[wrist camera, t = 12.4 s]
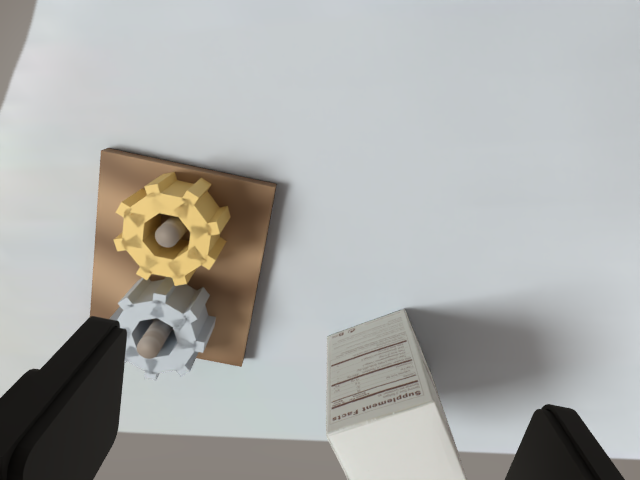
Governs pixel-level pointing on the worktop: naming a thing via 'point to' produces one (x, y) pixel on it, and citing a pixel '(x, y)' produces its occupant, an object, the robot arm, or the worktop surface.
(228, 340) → the gear board
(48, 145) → the worktop surface
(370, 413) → the supplement box
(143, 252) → the ochre gear
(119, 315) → the slate gear
